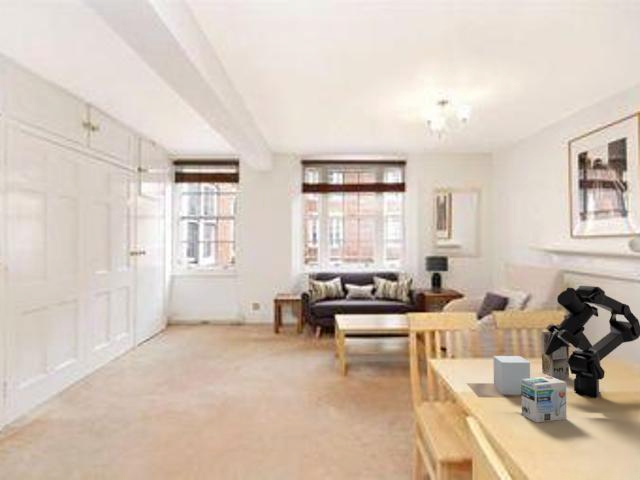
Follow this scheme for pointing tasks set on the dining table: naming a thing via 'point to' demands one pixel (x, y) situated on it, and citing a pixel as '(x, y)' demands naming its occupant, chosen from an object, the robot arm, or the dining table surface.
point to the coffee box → (555, 360)
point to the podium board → (488, 390)
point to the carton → (510, 374)
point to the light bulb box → (543, 399)
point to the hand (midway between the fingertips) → (546, 354)
